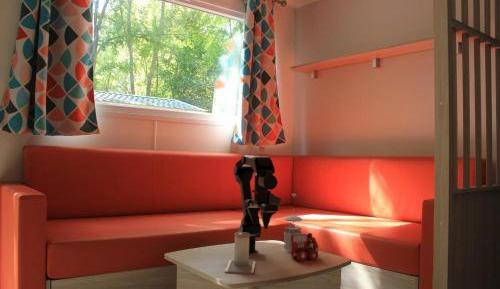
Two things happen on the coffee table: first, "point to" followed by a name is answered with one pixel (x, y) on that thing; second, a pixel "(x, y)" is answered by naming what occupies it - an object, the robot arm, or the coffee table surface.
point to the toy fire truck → (304, 247)
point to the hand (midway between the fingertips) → (260, 226)
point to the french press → (291, 231)
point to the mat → (240, 268)
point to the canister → (241, 249)
